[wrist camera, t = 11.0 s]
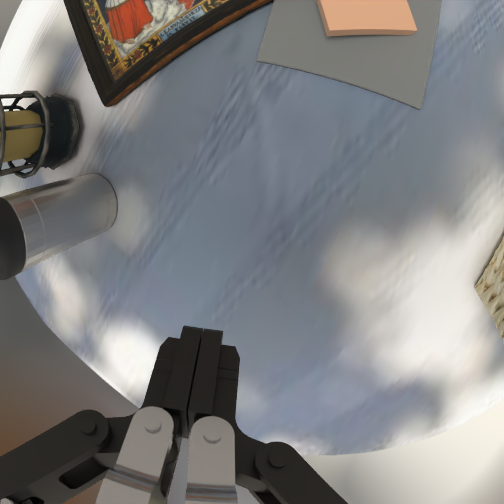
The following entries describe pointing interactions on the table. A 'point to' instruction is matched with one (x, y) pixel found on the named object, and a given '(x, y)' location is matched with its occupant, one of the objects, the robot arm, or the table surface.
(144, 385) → the table surface
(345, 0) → the tile
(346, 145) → the table surface
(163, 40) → the religious icon
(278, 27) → the mat
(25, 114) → the lantern
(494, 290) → the storage basket
